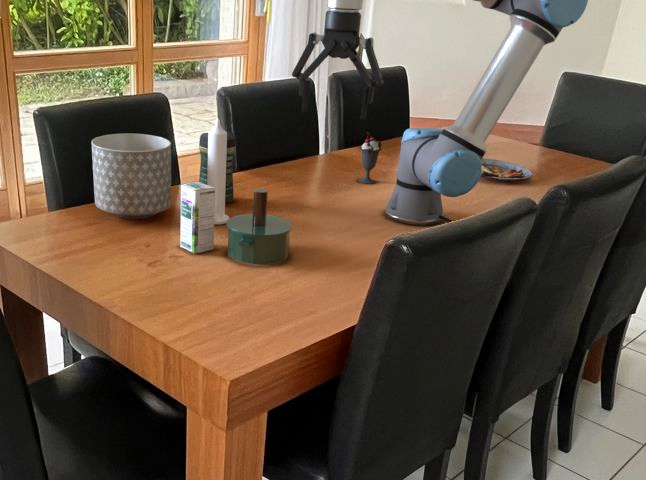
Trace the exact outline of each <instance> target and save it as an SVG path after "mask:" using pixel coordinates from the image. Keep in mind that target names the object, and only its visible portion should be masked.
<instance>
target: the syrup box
mask: <svg viewBox="0 0 646 480" xmlns="http://www.w3.org/2000/svg"><path fill="white" fill-rule="evenodd" d="M214 216H215V188H214V187H211V186H208V185H206V184H203V183H201V182H199V181H195V182H188V183H183V184H181V185H180V241H179V242H180V245H179V246H180V248H181V249H184V250H187V251H188V252H190V253H192V254H194V255H196V254H199V253H204V252H208V251H212V250H214V248H215V247H214V246H215V224H214Z"/></svg>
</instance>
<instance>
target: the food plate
mask: <svg viewBox="0 0 646 480" xmlns="http://www.w3.org/2000/svg"><path fill="white" fill-rule="evenodd" d="M481 163H482V166H481V169H482V174H481V177H480V178H486V179H494V180H498V181H501V182H502V181H506V182H509V181H520V180H528V179H529V180H530V179H532V178H533V177H534V173H532V172H531V171H530V170H529V169H528V168H527V167H525V166H523V165H521V164H518V163H513V162H509V161H505V160H501V159H493V158H486V157H483V158H482V159H481Z"/></svg>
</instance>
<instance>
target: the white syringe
mask: <svg viewBox="0 0 646 480" xmlns="http://www.w3.org/2000/svg"><path fill="white" fill-rule="evenodd" d="M226 131H227V130H225V129H224V128H223V127H222V125H221V120H220V118H219V117H217V118H216V121H215V124H214V126H213V127H212V128H211V129H210V130H208V132H207V133H208V178H207V185H208V186H211V187H214V188H215V216H214V225H226V222H227V220H228V219H229V218H230V216H229V215H228V214H226V213H225V212H226V210H225V209H226V203H225V186H226V154H227V132H226Z"/></svg>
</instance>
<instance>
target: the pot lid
mask: <svg viewBox="0 0 646 480" xmlns="http://www.w3.org/2000/svg"><path fill="white" fill-rule="evenodd" d="M268 193H269V191H268V190H267V189H266V188H255V189H253V199H252V200H253V201H252V202H253V203H252V213H243V214H238V215H234V216H231V217H229V219H228V220H227V222H226V223H225V226H226V228H227V230H228V229H229V230H230V231H232V232H234V233H237V234H240V235H244V236H249V237H260V238H267V237H277V236H282V235H285V234H287V233H289V232H290V233H291V231H292V229H293V224H292V223H291V222H290V221H289V220H287V219H285V218H282V217H280V216H276V215H271V214H267V212H268V211H267V210H268Z"/></svg>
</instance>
